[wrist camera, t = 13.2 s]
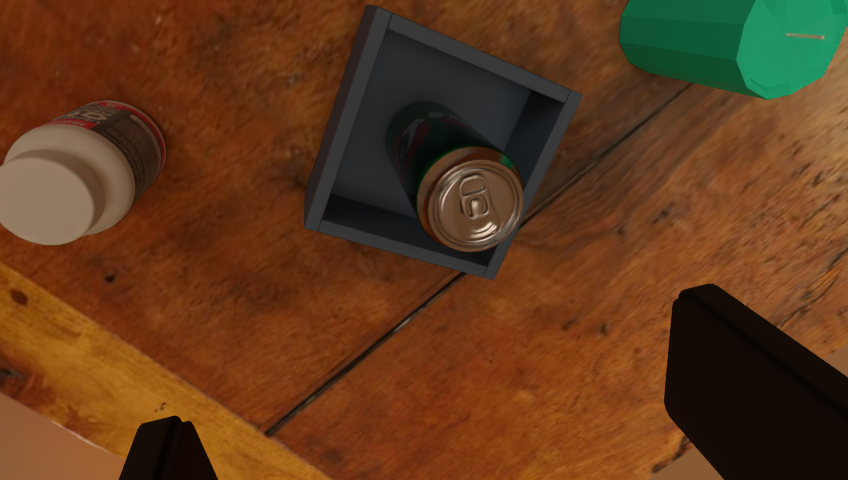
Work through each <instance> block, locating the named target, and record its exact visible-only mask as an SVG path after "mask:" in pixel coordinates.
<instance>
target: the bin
mask: <svg viewBox="0 0 848 480" xmlns="http://www.w3.org/2000/svg"><path fill="white" fill-rule="evenodd" d="M582 96H583V95H582V94H580V93H578V92H576V91H573V90H571V89H569V88H566V87H564V86H562V85H559V84H557V83H555V82H552V81H550V80H548V79H545V78H543V77H541V76H538V75H536V74H534V73H531V72H529V71H527V70H524V69H522V68H520V67H518V66H515V65H513V64H511V63H508V62H506V61H504V60H501V59H499V58H497V57H494V56H492V55H490V54H487V53H485V52H483V51H480V50H478V49H476V48H473V47H471V46H469V45H467V44H464V43H462V42H460V41H457V40H455V39H453V38H450V37H448V36H446V35H443V34H441V33H439V32H436V31H434V30H432V29H429V28H427V27H425V26H422V25H420V24H418V23H415V22H413V21H411V20H409V19H406V18H404V17H402V16H399V15H397V14H395V13H392V12H390V11H388V10H385V9H383V8H381V7H378V6H372V5H366V8H365V11H364V14H363V17H362V20H361V23H360V26H359V29H358V32H357V35H356V38H355V41H354V44H353V47H352V50H351V54H350V57H349V60H348V63H347V66H346V69H345V72H344V75H343V78H342V81H341V84H340V87H339V90H338V93H337V97H336V100H335V103H334V106H333V109H332V112H331V115H330V118H329V121H328V124H327V127H326V130H325V133H324V136H323V140H322V143H321V146H320V149H319V152H318V155H317V158H316V161H315V164H314V167H313V170H312V173H311V176H310V179H309V183H308V186H307V189H306V192H305V206H304V228H306V229H310V230H313V231H318V232H320V233H324V234H328V235H331V236H335V237H338V238H342V239H346V240H349V241H353V242H356V243H360V244H364V245H367V246H371V247H374V248H378V249H382V250H385V251H389V252H393V253H396V254H400V255H403V256H407V257H411V258H414V259H418V260H421V261H425V262H429V263H432V264H436V265H440V266H443V267H447V268H450V269H454V270H458V271H461V272H465V273H468V274H472V275H476V276H479V277H483V278H486V279H490V280H494V278H495V276H496V274H497V272H498V270H499V268H500V266H501V264H502V262H503V260H504V258H505V255H506V253H507V251H508V249H509V247H510V245H511V243H512V241H513V239H514V237H515V235H516V233H517V231H518V229H519V227H520V224H521V222H522V220H523V218H524V216H525V214H526V212H527V210H528V208H529V206H530V204H531V202H532V200H533V198H534V196H535V193H536V191H537V189H538V187H539V185H540V183H541V181H542V179H543V177H544V175H545V173H546V171H547V169H548V167H549V164H550V162H551V160H552V158H553V156H554V154H555V152H556V150H557V148H558V146H559V144H560V142H561V140H562V138H563V136H564V133H565V131H566V129H567V127H568V125H569V123H570V121H571V119H572V117H573V115H574V113H575V111H576V109H577V107H578V105H579V102H580V100H581V98H582ZM420 102H436V103H439V104H442V105H444V106H446V107H448V108H450V109H451V110H452V111H454V112H455V113H456V114H457V115H458V116H460V117H461V118H462V119H463V120H465V121H466V122H467V123H468V124H469V125H471V126H472V127H473V128H474V129H476V130H477V131H478V132H479V133H480V134H482V135H483V136H484V137H485V138H486V139H488V140H489V141H490V142H491V143H493V144H494V145H495V146H496V147H497V148H499V149H500V150H501V151H502V152H504V153H505V154H506V155H507V156H508V157H509V158H510V159H511V160H512V161H513V162H514V164H515V165H516V167H517V168H518V170H519V173H520V175H521V179H522V183H523V210H522V214H521V217H520V219H519V221H518V223H517V225H516V227H515V228H514V230H513V231H512V232H511V233H510V235H508V236H507V237H506V238H505V239H504V240H503V241H501V242H500V243H499V244H497V245H495V246H493V247H491V248H489V249H486V250H482V251H477V252H463V251H459V250H456V249H453V248H449V247H446V246H443V245H441V244H439V243H437V242H436V241H434V240H433V239H432V238H431V237H429V236H428V235H427V233H426V232H425V231H424V230H423V228H422V227H421V225H420V223H419V221H418V219H417V217H416V215H415V213H414V211H413V208H412V206H411V204H410V202H409V200H408V198H407V196H406V194H405V191H404V189H403V187H402V185H401V183H400V181H399V179H398V177H397V174H396V172H395V170H394V168H393V166H392V164H391V162H390V160H389V157H388V154H387V149H386V138H387V133H388V130H389V127H390V125H391V123H392V122H393V120H394V119H395V117H396V116H397V115H398V114H399V113H400V112H401V111H403V110H404V109H405V108H407V107H409V106H410V105H413V104H416V103H420Z"/></svg>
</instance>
